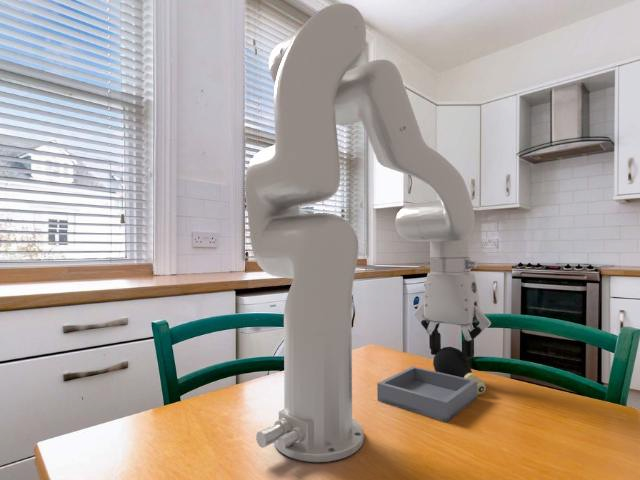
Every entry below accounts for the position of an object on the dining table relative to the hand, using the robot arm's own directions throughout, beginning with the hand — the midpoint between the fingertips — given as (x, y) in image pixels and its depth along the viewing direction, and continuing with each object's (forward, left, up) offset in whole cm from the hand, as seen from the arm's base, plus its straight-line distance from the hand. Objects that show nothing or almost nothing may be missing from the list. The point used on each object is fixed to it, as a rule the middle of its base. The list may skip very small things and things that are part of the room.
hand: (451, 355), depth 77 cm
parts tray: (-12, -1, -5) cm, 13 cm away
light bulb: (-2, -2, -5) cm, 6 cm away
